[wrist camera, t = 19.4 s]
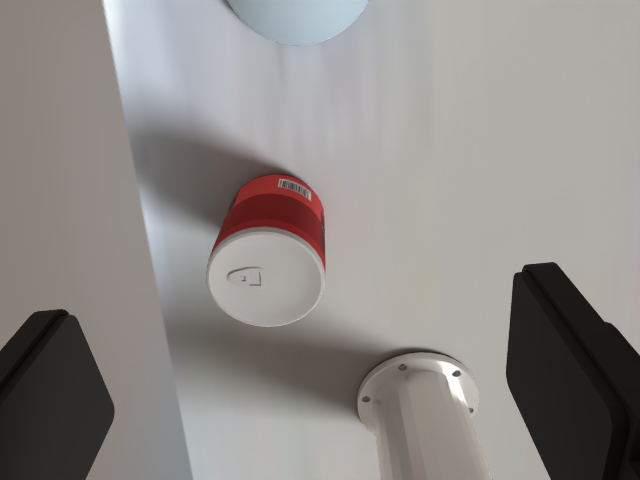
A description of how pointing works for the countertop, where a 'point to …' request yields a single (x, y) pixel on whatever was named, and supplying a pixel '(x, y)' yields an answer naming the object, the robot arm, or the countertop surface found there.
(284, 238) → the canned food
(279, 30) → the dish
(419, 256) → the countertop surface
